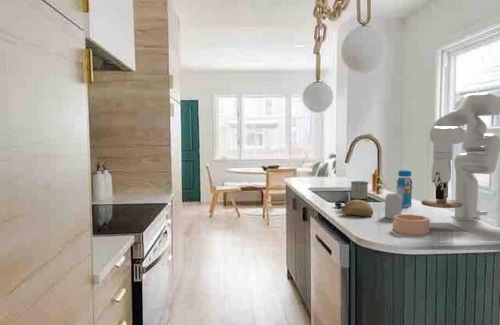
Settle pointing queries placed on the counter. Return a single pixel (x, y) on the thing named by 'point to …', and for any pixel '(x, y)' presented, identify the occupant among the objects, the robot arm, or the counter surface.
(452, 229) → the mat
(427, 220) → the bowl
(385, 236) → the counter surface
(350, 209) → the bread roll
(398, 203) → the can
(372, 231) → the counter surface
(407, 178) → the beverage bottle
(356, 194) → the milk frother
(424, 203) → the lid
